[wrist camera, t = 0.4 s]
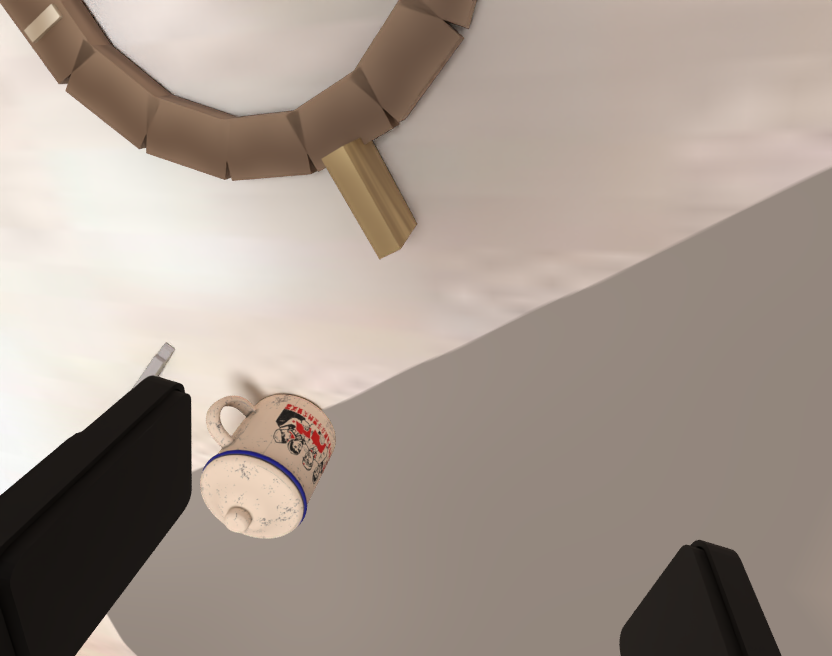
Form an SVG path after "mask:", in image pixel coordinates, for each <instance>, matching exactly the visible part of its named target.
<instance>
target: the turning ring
mask: <svg viewBox="0 0 832 656" xmlns="http://www.w3.org/2000/svg"><path fill="white" fill-rule="evenodd" d="M476 2H477V0H399V1H398V2H397V4H396V6H395V7H394V9H393V10H392V12H391V13H390V15H389V17H388V18H387V20H386V21H385V23H384V24H383V26H382V28H381V29H380V31H379V32H378V34H377V35H376V37H375V38H374V40H373V42H372V43H371V45H370V46H369V48H368V49H367V51H366V53H365V54H364V56H363V57H362V59H361V60H360V62H359V64H358V65H357V67H356V68H355V70H354V71H353V72H351V73H350V74H348V75H347V76H345V77H344V78H342V79H341V80H339V81H338V82H336V83H335V84H333V85H332V86H330V87H329V88H327V89H326V90H324V91H323V92H321V93H320V94H318V95H317V96H315V97H314V98H312V99H311V100H309V101H307V102H306V103H304V104H303V105H301V106H300V107H298V108H297V109H295V110H293V111H285V112H276V113H267V114H258V115H250V116H241V117H236V116H233V115H231V114H228V113H225V112H222V111H219V110H216V109H213V108H210V107H207V106H204V105H201V104H198V103H195V102H192V101H189V100H186V99H183V98H180V97H177V96H174V95H172V94H170V93H169V92H168V91H167V90H165V89H164V88H163V87H162V86H161V85H159V84H158V83H157V82H156V81H154V80H153V79H152V78H151V77H150V76H148V75H147V74H146V73H145V72H143V71H142V70H141V69H140V68H139V67H137V66H136V65H135V64H134V63H132V62H131V61H130V60H129V59H128V58H126V57H125V56H124V55H123V54H121V53H120V52H119V51H118V50H117V49H115V48H114V47H113V46H112V45H111V44H110V42H109V41H108V39H107V38H106V36H105V35H104V34H103V32H102V31H101V29H100V28H99V26H98V25H97V23H96V22H95V20H94V19H93V17H92V16H91V14H90V13H89V11H88V10H87V8H86V7H85V5H84V4H83V2H82V1H81V0H0V3H1V5H2V6H3V7H4V9H5V10H6V12H7V13H8V14H9V16H10V17H11V19H12V20H13V21H14V23H15V24H16V25H17V27H18V28H19V30H20V31H21V32H22V34H23V35H24V36H25V38H26V39H27V41H28V42H29V43H30V45H31V46H32V48H33V49H34V50H35V52H36V53H37V54H38V56H39V57H40V59H41V60H42V61H43V63H44V64H45V66H46V67H47V68H48V70H49V71H50V72H51V74H52V75H53V77H54V78H55V79H56V81H57V82H58V84H68V85H67V88H66V92H67V93H69V94H70V95H71V96H72V97H74V98H75V99H76V100H78V101H79V102H80V103H81V104H83V105H84V106H85V107H86V108H88V109H89V110H90V111H91V112H93V113H94V114H95V115H97V116H98V117H99V118H100V119H102V120H103V121H104V122H105V123H107V124H108V125H109V126H111V127H112V128H113V129H114V130H116V131H117V132H118V133H119V134H121V135H122V136H123V137H124V138H126V139H127V140H128V141H130V142H131V143H132V144H133V145H135V146H136V147H137V148H138V149H142V148H146V153H148V154H150V155H153V156H156V157H159V158H162V159H165V160H168V161H171V162H174V163H177V164H180V165H183V166H186V167H189V168H192V169H195V170H197V171H200V172H203V173H206V174H209V175H212V176H215V177H218V178H221V179H224V180H226V179H228V178H232V181H236V180H248V179H259V178H271V177H283V176H295V175H307V174H312V173H314V172H316V171H318V172H319V171H321V170H323V169H324V168H327V170H328V171H329V173H330V175H331V177H332V178H333V180H334V182H335V183H336V185H337V187H338V189H339V190H340V192H341V194H342V196H343V197H344V199H345V201H346V202H347V204H348V206H349V208H350V209H351V211H352V213H353V214H354V216H355V218H356V220H357V221H358V223H359V225H360V227H361V228H362V230H363V232H364V233H365V235H366V237H367V239H368V240H369V242H370V244H371V245H372V247H373V249H374V251H375V252H376V254H377V256H378V258H379V259H381V258H383V257H385V256H387V255H389V254H392V253H394V252H396V251H398V250H400V249H401V248H402V246H403V245H404V243H405V242H406V240H407V239H408V237H409V235H410V234H411V232H412V231H413V229H414V228H415V226H416V225H417V223H416V221H415V219H414V217H413V216H412V214H411V212H410V210H409V208H408V206H407V204H406V203H405V201H404V199H403V197H402V195H401V193H400V191H399V190H398V188H397V186H396V184H395V182H394V180H393V178H392V177H391V175H390V173H389V171H388V169H387V167H386V165H385V164H384V162H383V160H382V158H381V156H380V154H379V152H378V151H377V149H376V147H375V145H374V143H373V141H372V140H374V139H376V138H377V137H379V136H381V135H382V134H384V133H386V132H387V131H389V130H391V129H393V128H394V127H396V126H398V125H399V123H398V122H400V121H402V120H404V119H406V117H407V116H408V115H409V113H410V112H411V110H412V109H413V108H414V106H415V105H416V104H417V102H418V101H419V99H420V98H421V97H422V95H423V94H424V93H425V91H426V90H427V88H428V87H429V86H430V84H431V83H432V82H433V80H434V79H435V77H436V76H437V75H438V73H439V72H440V71H441V69H442V68H443V66H444V65H445V64H446V62H447V61H448V60H449V58H450V57H451V55H452V54H453V53H454V51H455V50H456V49H457V47H458V46H459V45H460V43H461V42H462V40H463V39H464V37H463V36H462V35H460V34H459V33H458V32H457V31H456V30H455V29H454V28H453V27H452V26H451V25H450V24H449V23H448V22H450V23H453V24H456V25H459V26H462V27H465V28H468V29H469V26H470V23H471V19H472V16H473V12H474V9H475V5H476Z"/></svg>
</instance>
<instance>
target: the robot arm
mask: <svg viewBox="0 0 832 656" xmlns="http://www.w3.org/2000/svg"><path fill="white" fill-rule="evenodd" d="M191 476H192V474H191V397H190V395H189V394H186V393H185V390H184V387H183V385H182V384H180V383H177V382H174V381H171V380H167V379H164V378H161V377H157V376H154V375H151V376H148V377H146V378H145V379H143V380H142V381H141V382H140V383H139V384H138V385H136V386H135V387H134V388H133V389H132V390H131V391H129V392H128V393H127V394H126V395H125V396H123V397H122V398H121V399H120V400H119V401H118V402H116V403H115V404H114V405H113V406H112V407H110V408H109V409H108V410H107V411H106V412H105V413H103V414H102V415H101V416H100V417H99V418H97V419H96V420H95V421H94V422H93V423H92V424H90V425H89V426H88V427H87V428H86V429H85V430H83V431H82V432H79V433H76V434H75V435H73V436H72V437H70V438H69V439H67V440H66V441H65V442H64V443H62V444H61V445H60V446H59V447H58V448H56V449H55V450H54V451H53V452H52V453H50V454H49V455H48V456H47V457H46V458H44V459H43V460H42V461H41V462H40V463H39V464H37V465H36V466H35V467H34V468H33V469H31V470H30V471H29V472H28V473H27V474H25V475H24V476H23V477H22V478H21V479H19V480H18V481H17V482H16V483H15V484H13V485H12V486H11V487H10V488H9V489H7V490H6V491H5V492H4V493H3V494H1V495H0V656H75V655H76V654H77V652H78V651H79V650H80V648H81V647H82V646H83V644H84V643H85V642H86V640H87V639H88V638H89V636H90V635H91V634H92V632H93V631H94V630H95V628H96V627H97V626H98V624H99V623H100V622H101V620H102V619H103V618H104V616H105V615H106V614H107V612H108V611H109V610H110V608H111V607H112V606H113V604H114V603H115V602H116V600H117V599H118V598H119V597H120V595H121V594H122V592H123V591H124V590H125V589H126V587H127V586H128V585H129V583H130V582H131V581H132V579H133V578H134V577H135V575H136V574H137V572H138V571H139V570H140V568H141V567H142V566H143V565H144V563H145V562H146V560H147V559H148V558H149V557H150V555H151V554H152V552H153V551H154V550H155V549H156V547H157V546H158V545H159V543H160V542H161V541H162V539H163V538H164V537H165V535H166V534H167V533H168V531H169V530H170V529H171V527H172V526H173V524H174V523H175V522H176V521H177V519H178V518H179V517H180V515H181V514H182V513H183V511H184V510H185V508H186V506H187V504H188V502H189V500H190V496H191V491H192V485H191V484H192V480H191V479H192V477H191ZM619 645H620V654H621V656H781V653H780V651H779V649H778V646H777V644H776V642H775V639H774V637H773V635H772V632H771V630H770V628H769V625H768V623H767V620H766V618H765V616H764V613H763V611H762V609H761V607H760V604H759V602H758V599H757V597H756V595H755V592H754V590H753V588H752V585H751V583H750V581H749V578H748V576H747V573H746V571H745V569H744V566H743V564H742V562H741V559H740V558H739V556H738V554H737V553H736V552H735V551H734V550H731V549H728V548H725V547H722V546H718V545H715V544H712V543H709V542H705V541H702V540H697V541H695V542H693V543H692V544H691V545H690V546H689V545H684V546H682V547H681V548H680V550H679V551H678V552H677V554H676V555H675V557H674V558H673V559H672V561H671V562H670V564H669V565H668V566H667V568H666V569H665V571H664V572H663V573H662V574H661V576H660V577H659V579H658V580H657V581H656V583H655V584H654V585H653V587H652V588H651V590H650V591H649V592H648V594H647V595H646V596H645V598H644V599H643V601H642V602H641V603H640V605H639V606H638V607H637V609H636V610H635V611H634V613H633V614H632V616H631V617H630V618H629V620H628V621H627V622H626V624H625V625H624V627H623V629H622V631H621V635H620V644H619Z"/></svg>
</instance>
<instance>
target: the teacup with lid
mask: <svg viewBox="0 0 832 656" xmlns="http://www.w3.org/2000/svg"><path fill="white" fill-rule="evenodd" d="M224 406H232V407H235V408H237V409H238V410H239V411H241V412H242V413H243V414H244V415H245V416H246V418H245V419H244V421H243V422H242V423H241V425H240V426H239V427H238V428H237V430H236V431H235V432H234V434H233V435H232V436H230V435H229V434H228V433H227V432H226V430H225V429H224V428H223V426H222V424H221V420H220V412H221V410H222V408H223V407H224ZM206 423H207V428H208V431H209V433H210V434H211V436H212V437H213V439H214V440H215V441H216V442H217V443H218V444H219V445H220V446H221V447H222V449H221V450H220V452H219V453H218V454H217V455H215V456H214V457H212V458H211V459H210V460H209V461H208V462H207V463H206V465H205V467H204V469H203V472H202V475H201V480H200V488H201V494H202V497H203V499H204V501H205V503H206V505H207V507H208V508H209V510H210V511H211V512H212V513H213V514H214V515H215V517H217V518H218V519H219V520H220V521H221V522H222V523H224V524H225V525H226V527H227V528H228V529H229V530H231V531H233V532H236V533H242V534H245V535H248V536H251V537H256V538H276V537H280V536H284V535H286V534H288V533H290V532H291V531H293V530H294V529H295V528H296V527H297V526H298V525H299V524H300V523H301V522H302V521H303V519H304V517H305V514H306V511H307V504H308V502H309V500H310V498H311V496H312V494H313V492H314V490H315V488H316V486H317V484H318V482H319V480H320V478H321V475H322V473H323V471H324V469H325V467H326V465H327V463H328V461H329V459H330V457H331V455H332V453H333V451H334V448H335V442H336V440H335V432H334V429H333V426H332V424H331V422H330V420H329V419H328V417H327V416H326V415H325V414H324V413H323V412H322V411H321V410H320V409H319V408H318V407H317V406H315V405H314V404H313V403H311V402H309V401H307V400H305V399H303V398H300V397H297V396H293V395H285V394H279V395H273V396H269V397H267V398H264V399H263V400H261V401H260V402H258V403H257V404H256V405H255V407H254V406H253V405H252V404H251V403H250V402H249V401H248V400H246V399H244V398H242V397H239V396H227V397H224V398H222V399H220V400H218V401H216V402H215V403H214V404H213V405H212V406H211V407H210V408H209V410H208V412H207V416H206Z"/></svg>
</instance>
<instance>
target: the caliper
mask: <svg viewBox="0 0 832 656" xmlns="http://www.w3.org/2000/svg"><path fill="white" fill-rule="evenodd" d="M174 350H175V349H174V348H173V347H171V346H170V345H169V344H167V343H165V344H164V345H163V346H162V348H161V349H160V351H159V352H158V354H157V355H155V356H154V357H153V359H152V360H151V362H150V363H149V365H148V366H147V368H146V369H145V371H144V372H143V374H142V375H141V377H140V378H139V380H138V381H137V383H136V384H135V385H134V387H135V386H136V385H138V384H139V383H140V382H141V381H142V380H143V379H145V378H146V377H148V376H151V375H154V376H157V377H158V375H159V374H160V373H161V371H162V370H163V368H164V367H165V365H166V363H167V362H168V360H169V359H170V356H171V355H172V353H173V352H174ZM134 387H133V388H134ZM133 388H132V389H133Z"/></svg>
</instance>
